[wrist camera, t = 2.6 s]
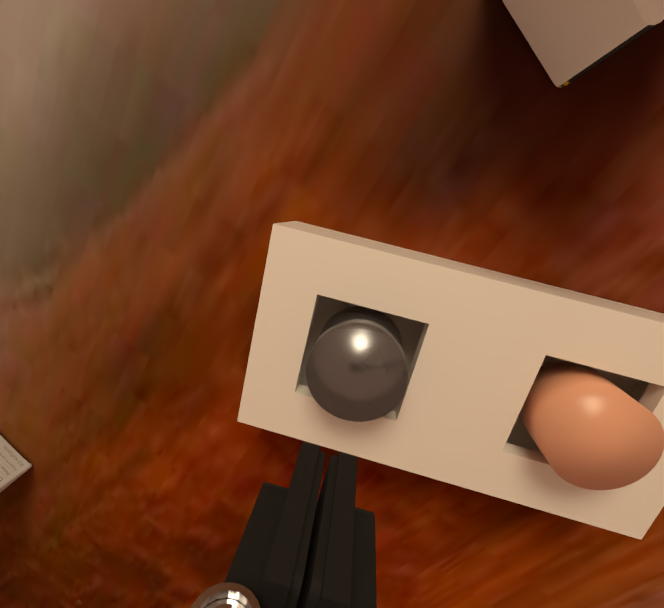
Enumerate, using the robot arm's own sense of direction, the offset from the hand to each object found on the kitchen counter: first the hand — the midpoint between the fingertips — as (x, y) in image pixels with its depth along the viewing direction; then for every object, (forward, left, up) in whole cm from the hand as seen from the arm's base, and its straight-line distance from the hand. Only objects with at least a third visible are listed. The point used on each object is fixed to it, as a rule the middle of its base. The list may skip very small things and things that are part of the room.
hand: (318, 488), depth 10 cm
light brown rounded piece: (-13, 0, -11) cm, 17 cm away
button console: (-7, 0, -14) cm, 16 cm away
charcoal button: (-1, 0, -11) cm, 11 cm away
